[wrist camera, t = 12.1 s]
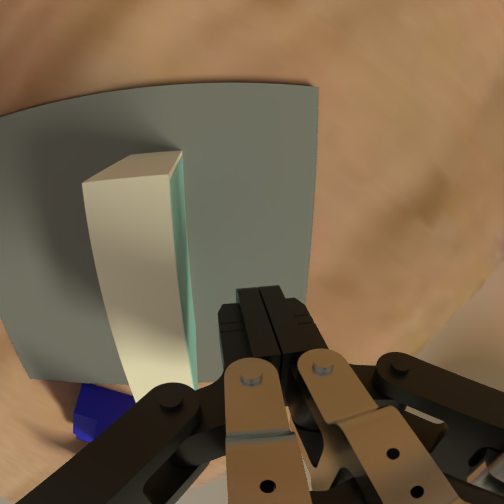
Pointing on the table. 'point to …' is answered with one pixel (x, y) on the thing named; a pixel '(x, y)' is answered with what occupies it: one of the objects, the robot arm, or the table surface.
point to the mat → (196, 208)
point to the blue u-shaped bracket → (98, 410)
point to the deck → (145, 267)
